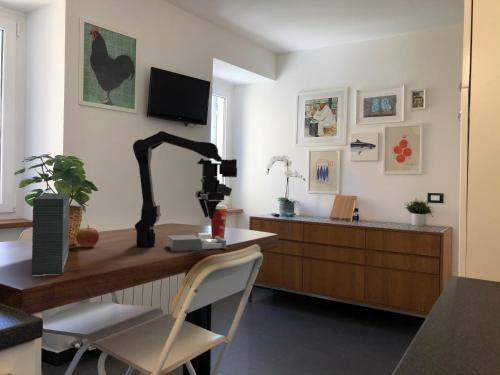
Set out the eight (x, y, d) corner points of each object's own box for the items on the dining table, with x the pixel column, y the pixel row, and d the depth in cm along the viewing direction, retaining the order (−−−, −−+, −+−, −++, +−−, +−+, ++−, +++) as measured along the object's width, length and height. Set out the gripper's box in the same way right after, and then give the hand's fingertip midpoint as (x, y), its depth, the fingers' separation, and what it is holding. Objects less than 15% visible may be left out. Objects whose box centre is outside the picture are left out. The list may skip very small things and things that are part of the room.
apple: (85, 244, 151) (85, 223, 151) (103, 246, 149) (103, 224, 149) (70, 248, 143) (70, 225, 143) (89, 249, 141) (89, 226, 141)
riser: (201, 243, 161) (201, 234, 161) (198, 241, 164) (198, 233, 164) (210, 243, 162) (210, 234, 162) (207, 241, 166) (208, 233, 166)
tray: (198, 249, 146) (198, 241, 146) (191, 244, 156) (191, 236, 156) (227, 248, 150) (227, 240, 150) (218, 243, 160) (218, 236, 160)
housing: (172, 251, 142) (173, 240, 142) (167, 246, 153) (167, 235, 153) (201, 250, 146) (202, 239, 146) (194, 245, 157) (194, 234, 156)
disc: (201, 246, 148) (201, 242, 148) (196, 243, 155) (196, 239, 155) (219, 245, 151) (220, 241, 151) (214, 242, 158) (214, 238, 158)
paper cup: (225, 238, 176) (226, 206, 175) (208, 237, 176) (209, 205, 175) (227, 235, 183) (228, 205, 183) (210, 235, 184) (211, 204, 183)
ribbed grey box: (44, 255, 130) (45, 193, 129) (68, 254, 132) (69, 193, 132) (31, 277, 103) (33, 198, 102) (62, 275, 105) (63, 198, 105)
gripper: (238, 177, 147) (237, 220, 147) (222, 177, 164) (221, 215, 164) (208, 176, 143) (207, 220, 143) (195, 176, 160) (194, 215, 160)
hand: (208, 218), depth 153 cm, fingers open, 6 cm apart
